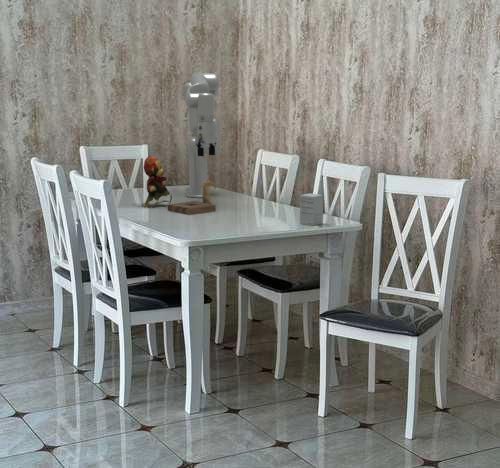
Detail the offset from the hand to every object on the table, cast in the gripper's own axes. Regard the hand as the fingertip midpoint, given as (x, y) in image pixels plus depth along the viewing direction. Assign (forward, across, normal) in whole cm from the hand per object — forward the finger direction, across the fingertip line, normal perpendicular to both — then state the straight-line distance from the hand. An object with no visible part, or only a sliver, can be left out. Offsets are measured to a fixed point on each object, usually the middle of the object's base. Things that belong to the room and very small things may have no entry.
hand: (206, 155), depth 393 cm
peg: (+25, 0, 0) cm, 25 cm away
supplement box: (+27, -13, -63) cm, 70 cm away
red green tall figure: (+25, -9, +23) cm, 35 cm away
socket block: (+25, -12, 0) cm, 28 cm away
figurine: (+25, +13, +8) cm, 29 cm away
